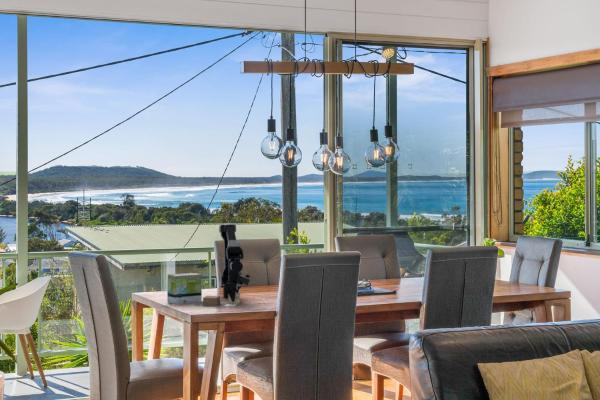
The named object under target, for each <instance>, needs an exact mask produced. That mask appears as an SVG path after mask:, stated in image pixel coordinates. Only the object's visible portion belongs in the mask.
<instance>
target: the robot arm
mask: <svg viewBox="0 0 600 400" xmlns="http://www.w3.org/2000/svg"><path fill="white" fill-rule="evenodd" d="M236 232H237V225H236V224H234V223H221V225H219V227H218V233H220V238H221V239H222V240H223V262H224V267H223V270H222V271H221V275H220V277H219V278H220V280H219V287H220V288H222V297H221V299H228V294H229V296H230V298H231V300H232V302H234V301H235V294H236V292H238V293H240V289H241V288H243V286H244V285H245V286H249V285H250V283H251V282H252V278H251V275H250V274H246V275H243V274H242V271H243V267H244V265H243V263H242V262H241V260H244V256H245V255H244V250H243V248H242V247H241V244H240V243H239V242H238V241H237V237H236Z"/></svg>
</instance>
